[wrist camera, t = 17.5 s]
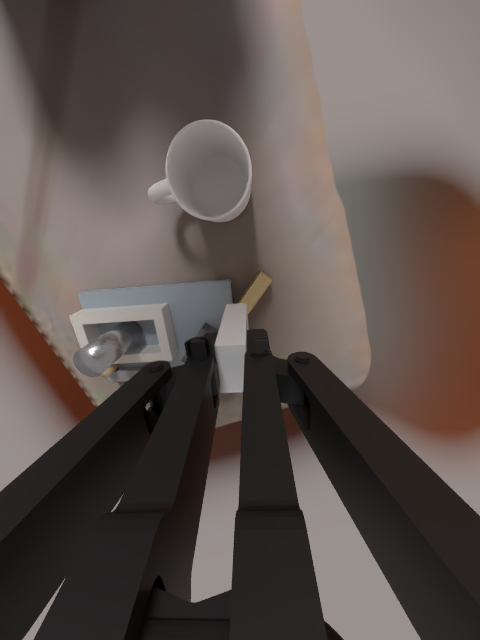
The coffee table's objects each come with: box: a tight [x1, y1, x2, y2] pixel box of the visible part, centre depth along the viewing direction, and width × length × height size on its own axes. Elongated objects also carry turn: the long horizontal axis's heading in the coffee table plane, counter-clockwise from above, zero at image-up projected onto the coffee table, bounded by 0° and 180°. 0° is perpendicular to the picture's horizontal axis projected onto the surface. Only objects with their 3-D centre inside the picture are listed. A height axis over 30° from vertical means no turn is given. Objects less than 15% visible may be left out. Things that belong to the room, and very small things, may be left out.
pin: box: [73, 321, 143, 377], centre depth 34 cm, size 4×4×10 cm
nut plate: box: [69, 279, 233, 388], centre depth 35 cm, size 16×24×10 cm, turn 95°
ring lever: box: [181, 269, 273, 363], centre depth 36 cm, size 18×7×2 cm, turn 147°
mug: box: [148, 119, 252, 222], centre depth 27 cm, size 12×8×10 cm
